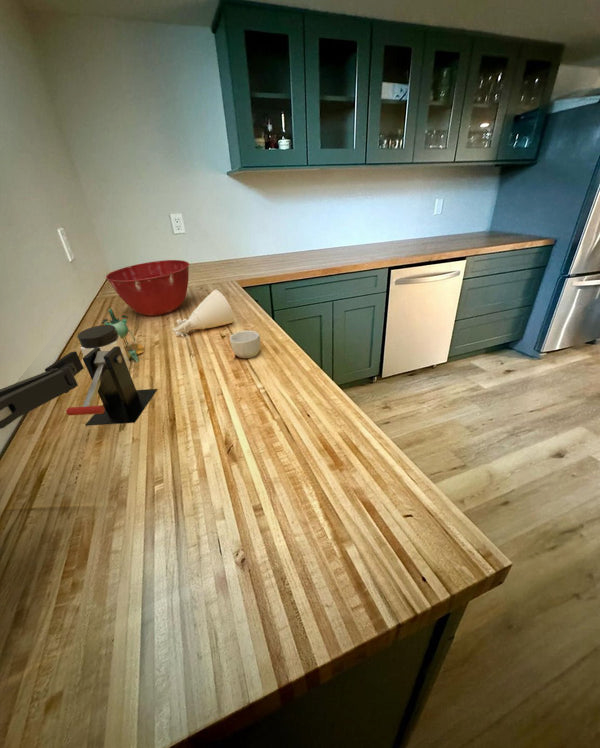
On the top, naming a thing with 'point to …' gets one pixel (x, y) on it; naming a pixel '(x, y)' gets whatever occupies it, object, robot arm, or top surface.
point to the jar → (101, 340)
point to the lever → (92, 390)
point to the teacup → (245, 343)
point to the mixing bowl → (152, 286)
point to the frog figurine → (123, 331)
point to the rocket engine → (207, 314)
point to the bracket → (117, 390)
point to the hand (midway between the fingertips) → (30, 369)
